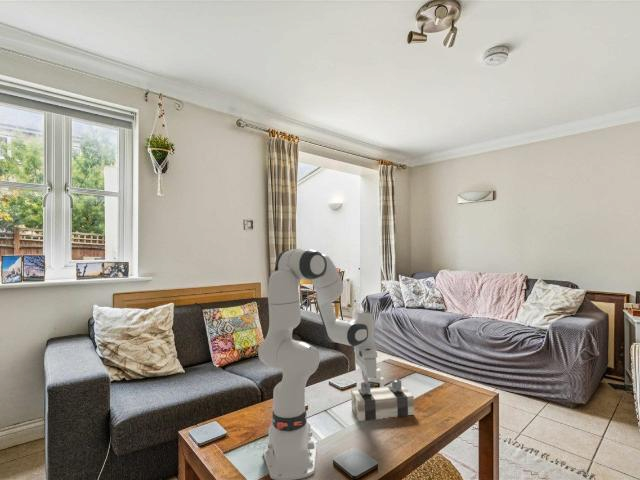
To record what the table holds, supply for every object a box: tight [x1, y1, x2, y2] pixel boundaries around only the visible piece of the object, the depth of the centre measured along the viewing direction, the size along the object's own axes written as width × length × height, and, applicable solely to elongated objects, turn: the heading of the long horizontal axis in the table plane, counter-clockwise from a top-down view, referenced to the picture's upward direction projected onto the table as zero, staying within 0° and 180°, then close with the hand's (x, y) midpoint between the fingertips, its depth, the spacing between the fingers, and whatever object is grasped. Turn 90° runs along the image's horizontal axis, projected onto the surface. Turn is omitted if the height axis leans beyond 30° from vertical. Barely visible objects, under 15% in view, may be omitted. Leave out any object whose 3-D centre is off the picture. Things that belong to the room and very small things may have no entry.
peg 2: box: [391, 378, 402, 394], centre depth 149 cm, size 4×4×7 cm
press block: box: [350, 384, 415, 422], centre depth 148 cm, size 12×24×8 cm, turn 98°
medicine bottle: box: [368, 367, 385, 388], centre depth 167 cm, size 7×7×12 cm
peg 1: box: [360, 381, 371, 397], centre depth 147 cm, size 4×4×7 cm
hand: (365, 380), depth 147 cm, fingers closed
